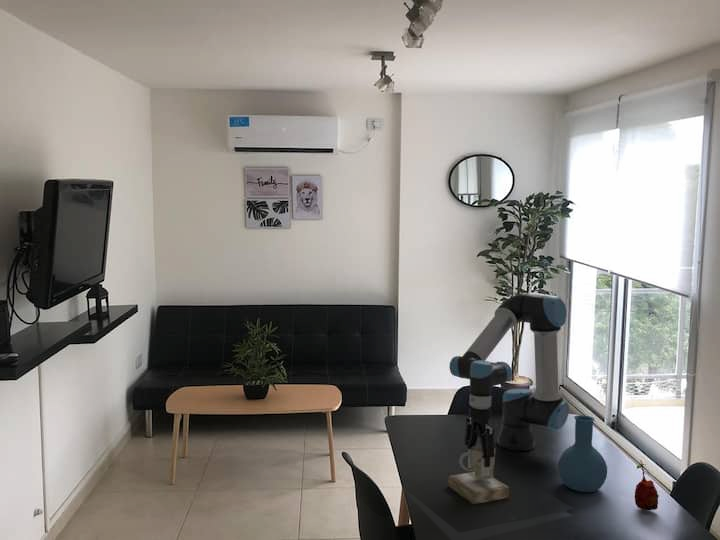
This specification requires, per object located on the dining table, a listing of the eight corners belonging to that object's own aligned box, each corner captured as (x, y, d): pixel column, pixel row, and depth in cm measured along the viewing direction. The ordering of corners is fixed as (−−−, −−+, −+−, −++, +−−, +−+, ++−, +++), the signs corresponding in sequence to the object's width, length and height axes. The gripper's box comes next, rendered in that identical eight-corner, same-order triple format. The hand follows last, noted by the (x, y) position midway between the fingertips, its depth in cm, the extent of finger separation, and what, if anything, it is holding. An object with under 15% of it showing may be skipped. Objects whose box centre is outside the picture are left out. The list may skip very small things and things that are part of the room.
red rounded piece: (645, 513, 211) (647, 468, 209) (628, 504, 217) (630, 460, 216) (662, 509, 214) (664, 465, 213) (645, 501, 220) (647, 457, 219)
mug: (496, 481, 220) (495, 452, 220) (459, 480, 223) (458, 451, 223) (496, 473, 229) (495, 444, 228) (460, 471, 231) (459, 444, 231)
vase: (582, 500, 220) (585, 427, 218) (547, 482, 235) (549, 414, 233) (617, 491, 228) (619, 421, 226) (580, 474, 242) (583, 409, 241)
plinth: (481, 480, 236) (482, 469, 236) (508, 497, 221) (508, 486, 221) (448, 486, 230) (448, 475, 230) (473, 504, 216) (473, 492, 215)
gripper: (455, 399, 231) (453, 462, 233) (488, 415, 213) (486, 483, 214) (473, 397, 234) (471, 459, 236) (507, 413, 216) (505, 480, 217)
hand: (478, 471), depth 225 cm, fingers closed on mug, 7 cm apart
